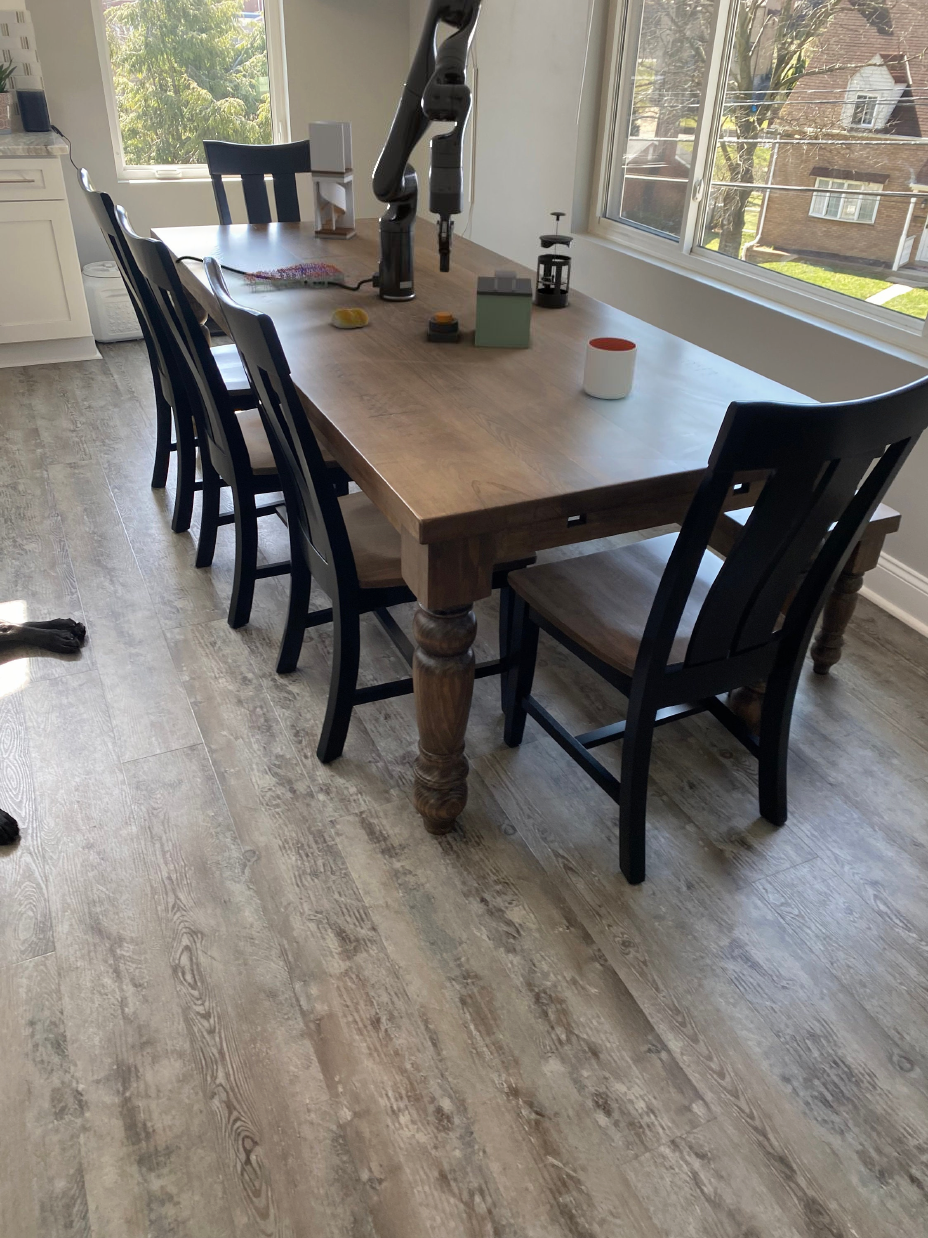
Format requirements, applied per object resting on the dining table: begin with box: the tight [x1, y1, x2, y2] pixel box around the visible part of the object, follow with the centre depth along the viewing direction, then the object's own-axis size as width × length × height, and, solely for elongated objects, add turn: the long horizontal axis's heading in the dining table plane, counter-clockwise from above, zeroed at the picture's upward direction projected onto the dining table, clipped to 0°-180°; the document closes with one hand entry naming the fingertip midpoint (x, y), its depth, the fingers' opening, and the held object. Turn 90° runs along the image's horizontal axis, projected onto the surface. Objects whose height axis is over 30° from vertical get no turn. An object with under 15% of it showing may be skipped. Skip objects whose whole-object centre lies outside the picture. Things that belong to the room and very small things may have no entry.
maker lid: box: [476, 269, 534, 298], centre depth 205 cm, size 14×13×5 cm
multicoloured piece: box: [243, 262, 351, 293], centre depth 251 cm, size 30×15×5 cm, turn 115°
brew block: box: [427, 315, 460, 344], centre depth 212 cm, size 10×7×4 cm
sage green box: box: [474, 294, 533, 349], centre depth 210 cm, size 14×13×12 cm
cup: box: [582, 336, 638, 400], centre depth 180 cm, size 10×10×10 cm
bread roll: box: [330, 307, 370, 329], centre depth 219 cm, size 8×9×4 cm
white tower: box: [308, 120, 356, 240], centre depth 305 cm, size 11×11×35 cm
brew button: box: [434, 311, 453, 322], centre depth 211 cm, size 4×4×2 cm
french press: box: [533, 211, 574, 309], centre depth 237 cm, size 12×9×23 cm
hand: (444, 271), depth 205 cm, fingers closed
